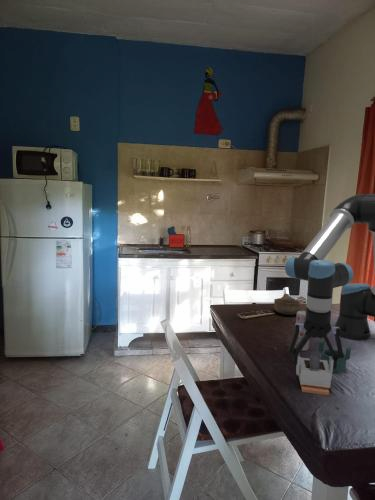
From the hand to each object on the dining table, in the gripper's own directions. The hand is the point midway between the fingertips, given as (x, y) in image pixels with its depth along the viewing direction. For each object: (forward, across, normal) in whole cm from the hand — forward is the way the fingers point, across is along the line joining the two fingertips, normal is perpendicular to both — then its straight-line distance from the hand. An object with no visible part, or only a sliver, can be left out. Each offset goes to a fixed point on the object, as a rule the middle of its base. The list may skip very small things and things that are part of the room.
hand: (313, 375), depth 115 cm
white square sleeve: (+1, 0, 0) cm, 1 cm away
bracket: (+3, -8, -14) cm, 17 cm away
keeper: (+3, 0, 0) cm, 3 cm away
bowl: (+3, +5, -76) cm, 76 cm away
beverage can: (+3, +1, -29) cm, 29 cm away
